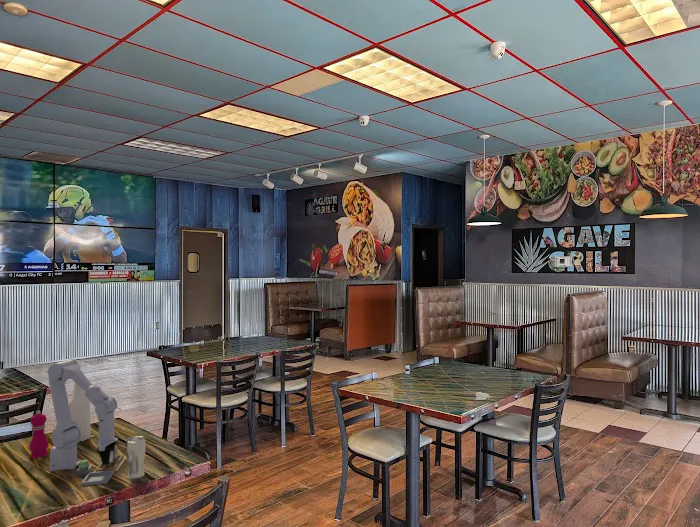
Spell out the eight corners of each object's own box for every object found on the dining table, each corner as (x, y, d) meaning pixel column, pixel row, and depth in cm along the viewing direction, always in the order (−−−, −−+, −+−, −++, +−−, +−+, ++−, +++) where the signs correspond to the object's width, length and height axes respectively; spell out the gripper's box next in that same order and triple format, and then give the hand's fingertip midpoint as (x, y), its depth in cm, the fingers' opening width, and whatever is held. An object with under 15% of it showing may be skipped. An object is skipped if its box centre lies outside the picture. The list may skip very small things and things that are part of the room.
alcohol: (73, 437, 245) (71, 375, 245) (92, 435, 247) (91, 374, 247) (67, 443, 236) (66, 379, 236) (87, 441, 238) (86, 378, 238)
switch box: (76, 477, 198) (76, 470, 198) (80, 473, 203) (80, 465, 203) (89, 476, 199) (88, 469, 199) (92, 472, 203) (92, 464, 203)
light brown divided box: (92, 475, 200) (92, 457, 200) (103, 461, 214) (103, 445, 214) (117, 473, 201) (116, 455, 201) (126, 459, 215) (125, 443, 215)
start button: (79, 473, 199) (79, 463, 199) (82, 470, 202) (81, 460, 202) (87, 472, 200) (87, 462, 200) (89, 469, 202) (89, 459, 202)
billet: (100, 469, 202) (100, 454, 202) (103, 465, 206) (103, 450, 206) (111, 468, 203) (111, 453, 203) (114, 464, 206) (113, 449, 206)
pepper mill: (25, 457, 220) (24, 412, 220) (41, 451, 227) (40, 407, 226) (37, 459, 217) (36, 413, 217) (52, 453, 224) (51, 409, 224)
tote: (81, 487, 190) (81, 482, 190) (89, 477, 199) (89, 472, 199) (106, 484, 191) (106, 480, 191) (113, 474, 200) (113, 470, 200)
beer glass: (134, 482, 193) (133, 443, 193) (123, 478, 197) (122, 440, 197) (149, 475, 199) (148, 437, 199) (138, 471, 203) (137, 434, 203)
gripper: (112, 434, 198) (112, 468, 198) (121, 422, 212) (122, 454, 212) (92, 435, 196) (93, 470, 196) (103, 423, 211) (104, 455, 211)
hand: (107, 462), depth 204 cm, fingers closed on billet, 4 cm apart
